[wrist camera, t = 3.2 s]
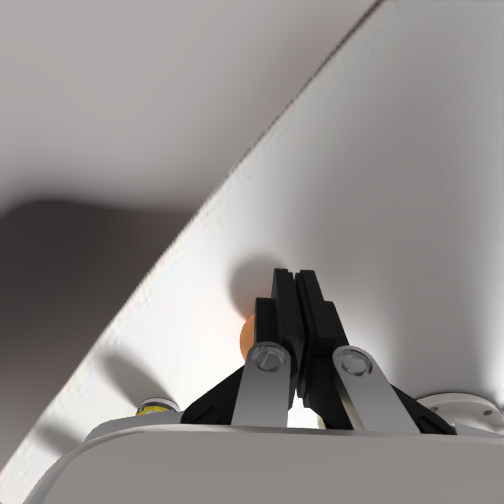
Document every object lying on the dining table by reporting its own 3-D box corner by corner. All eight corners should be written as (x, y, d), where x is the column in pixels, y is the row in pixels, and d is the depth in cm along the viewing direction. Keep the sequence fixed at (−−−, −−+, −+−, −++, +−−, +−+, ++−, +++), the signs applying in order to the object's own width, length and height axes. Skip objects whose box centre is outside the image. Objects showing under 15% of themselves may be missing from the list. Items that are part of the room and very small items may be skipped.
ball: (306, 296, 26) (316, 342, 21) (298, 343, 28) (305, 395, 23) (243, 292, 26) (238, 337, 21) (240, 340, 28) (236, 390, 23)
